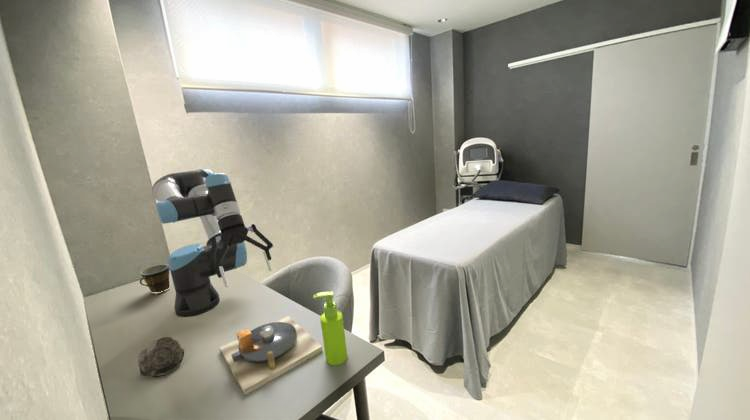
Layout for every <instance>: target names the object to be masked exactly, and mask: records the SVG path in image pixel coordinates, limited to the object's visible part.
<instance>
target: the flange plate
mask: <svg viewBox="0 0 750 420" xmlns="http://www.w3.org/2000/svg"><path fill="white" fill-rule="evenodd" d="M236 337H237V339H238V342H239V351H237V352H235V353H233V354H231V355H232V359H233V361H234V362H236V361H238V360H240V359H243V360H245V361H247V362H250V363H264V362H268V359H267V353H268V352H269V351H272V352H273V355H274V360H275V359H277V358H279V357H281V356H283V355H284V354H286V353H287V352H288V351H290V350H291V349H292V348H293V346H294V345H295V343H296V341H297V333H296V329H295V327H294V326H293V325H291V324H289V323H285V322H276V321H274V322H268V323H265V324H262V325H259V326H257V327H256V328H253V329H252V330H249V328H245V329H243V330H241V331H238V332H236Z"/></svg>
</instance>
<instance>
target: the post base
mask: <svg viewBox="0 0 750 420" xmlns="http://www.w3.org/2000/svg"><path fill="white" fill-rule="evenodd" d="M275 322H285V323H289V324H291V325H293V326H294V327H295V329H296V333H297V341H296V343H295V345H294V346H293V348H292V349H291V350H290V351H288V352H287V353H286V354H284V355H283V356H281V357H279V358H277V359H275V360H274V355H273V352H272V351H269V352H268V353H267V359H268V362H264V363H250V362H247V361H245V360H243V359H240V360H238V361H236V362H234V361H233V359H232V355H231V354H233V353H235V352H237V351H239V342H238V338H237V339H234V340H233V341H231V342H228V343H226V344H224V345H222V346H219V351H220V353H221V355H222V356H223V359H224V361H225V362H226V364H227V366H228V367H229V369H230V371H231V373H232V374H233V377H234V378H235V380H236V382H237V384H238V385H239V388H240V389H241V390H242V392H243V394H244V396H246V395H248V394H250V393H251V392H253V391H256V390H257V389H258V388H260V387H262V386H264V385H265V384H267V383H269V382H270V381H273V380H274V379H276V378H278V377H279V376H281V375H283V374H285V373H286V372H287V373H288V371H290V370H292V369H293V368H295V367H297V366H299V365H301V364H302V363H304V362H305V361H308V360H309V359H311V358H312V357H315V356H317V355H318V354H319V353H321V352H323V346H322V345H321V344H320V343H319V342H318V341H316V340H315V339H314V338H313V336H311V335H310V334H309V333H308V332H306V330H305V329H304V328H302V327H301V326H300V325H299V324H298V323H297V322H296V321H295V320H294V319H292V317H291V316H289V315H287V316H285V317H283V318H280V319H278V320H277V321H275ZM314 355H315V356H314ZM307 359H308V360H307Z"/></svg>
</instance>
